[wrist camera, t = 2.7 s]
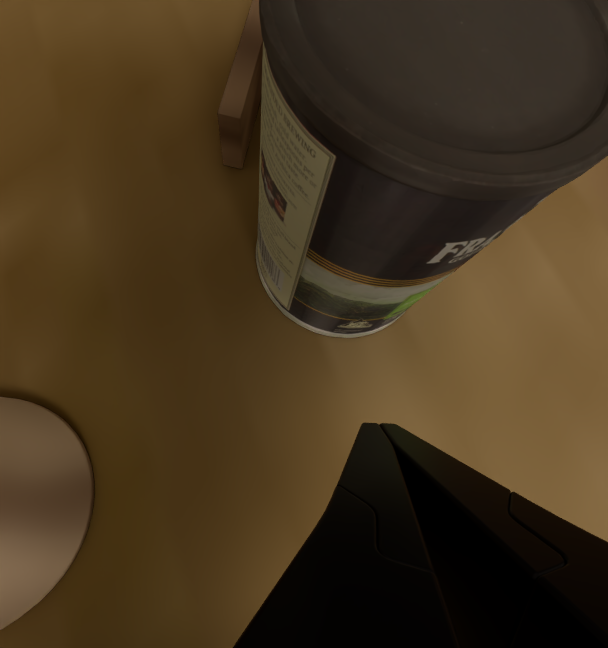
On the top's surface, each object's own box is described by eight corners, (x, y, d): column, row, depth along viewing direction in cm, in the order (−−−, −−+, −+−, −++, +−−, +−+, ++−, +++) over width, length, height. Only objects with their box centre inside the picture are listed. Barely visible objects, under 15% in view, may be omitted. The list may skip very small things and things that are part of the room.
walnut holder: (468, 222, 25) (508, 184, 21) (223, 164, 24) (217, 113, 20) (475, 94, 28) (510, 41, 24) (260, 37, 27) (261, -28, 23)
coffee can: (451, 259, 24) (707, 38, 10) (347, 375, 21) (517, 273, 7) (333, 156, 25) (428, -167, 11) (217, 252, 22) (163, -31, 8)
